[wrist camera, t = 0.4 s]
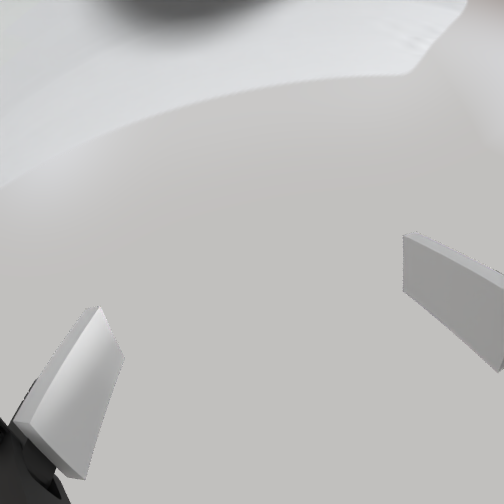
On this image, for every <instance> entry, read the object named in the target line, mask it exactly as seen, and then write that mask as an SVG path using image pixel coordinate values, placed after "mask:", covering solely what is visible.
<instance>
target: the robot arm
mask: <svg viewBox="0 0 504 504" xmlns="http://www.w3.org/2000/svg"><path fill="white" fill-rule="evenodd" d="M403 257H404V258H403V292H405V293H406V294H407V295H408V296H410V297H411V298H412V299H413V300H415V301H416V302H417V303H418V304H420V305H421V306H422V307H423V308H424V309H426V310H427V311H428V312H429V313H430V314H432V315H433V316H434V317H435V318H437V319H438V320H439V321H440V322H441V323H442V324H444V325H445V326H446V327H447V328H448V329H449V330H450V331H452V332H453V333H454V334H455V335H456V336H457V337H459V338H460V339H461V340H462V341H463V342H464V343H465V344H467V345H468V346H469V347H470V348H471V349H472V350H473V351H474V352H475V353H477V354H478V355H479V356H480V357H481V358H482V359H483V360H484V361H485V362H486V363H487V364H489V365H490V366H491V367H492V368H493V369H494V370H495V371H496V372H497V373H498V372H500V371H501V370H503V369H504V275H503V274H502V273H500V272H498V271H496V270H494V269H492V268H490V267H488V266H486V265H484V264H482V263H480V262H478V261H476V260H475V259H473V258H471V257H468V256H467V255H464V254H462V253H461V252H459V251H457V250H454V249H452V248H450V247H448V246H446V245H444V244H442V243H440V242H437V241H436V240H433V239H431V238H429V237H427V236H425V235H422V234H420V233H418V232H413V233H409V234H405V235H403ZM124 359H125V357H124V355H123V353H122V351H121V349H120V347H119V345H118V343H117V341H116V339H115V337H114V335H113V333H112V331H111V328H110V326H109V324H108V322H107V320H106V318H105V315H104V313H103V311H102V308H101V306H97V307H93V308H88V309H86V310H85V311H84V312H83V314H82V315H81V316H80V318H79V319H78V320H77V322H76V323H75V324H74V326H73V327H72V329H71V330H70V331H69V333H68V334H67V336H66V337H65V338H64V340H63V341H62V343H61V344H60V346H59V347H58V349H57V350H56V351H55V353H54V354H53V356H52V357H51V359H50V360H49V362H48V363H47V365H46V367H45V368H44V370H43V371H42V373H41V374H40V376H39V377H38V378H37V379H36V380H35V381H34V383H33V384H32V386H31V388H30V389H29V393H27V394H26V396H25V397H24V400H23V401H22V403H21V404H20V406H19V408H18V410H17V411H16V413H15V415H14V416H13V418H12V420H11V422H10V424H9V425H8V426H7V425H6V424H5V423H4V422H3V420H2V419H1V418H0V504H71V503H70V501H69V499H68V497H67V495H66V493H65V490H64V488H63V486H62V484H61V481H60V480H59V478H58V477H57V476H56V475H55V474H54V473H55V470H56V467H57V468H58V469H59V470H60V471H61V472H62V473H63V474H64V475H65V476H67V477H69V478H75V479H82V480H85V479H86V476H87V472H88V468H89V465H90V461H91V458H92V454H93V451H94V447H95V444H96V441H97V437H98V434H99V431H100V428H101V425H102V422H103V419H104V415H105V412H106V409H107V406H108V404H109V400H110V398H111V395H112V392H113V389H114V386H115V384H116V381H117V378H118V375H119V373H120V370H121V367H122V365H123V361H124Z"/></svg>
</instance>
